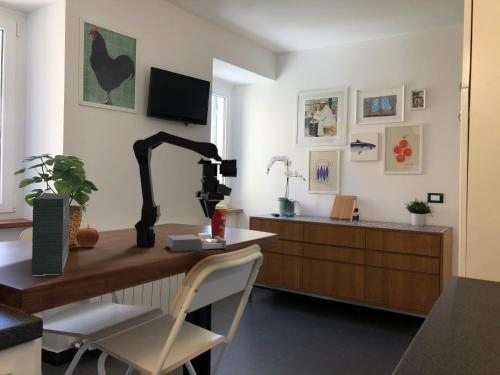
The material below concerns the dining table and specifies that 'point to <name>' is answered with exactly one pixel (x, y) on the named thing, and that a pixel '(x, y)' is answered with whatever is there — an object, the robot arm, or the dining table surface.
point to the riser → (204, 236)
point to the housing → (184, 242)
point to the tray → (215, 244)
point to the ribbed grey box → (50, 233)
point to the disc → (209, 241)
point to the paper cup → (219, 221)
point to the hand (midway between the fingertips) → (208, 218)
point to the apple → (87, 237)
